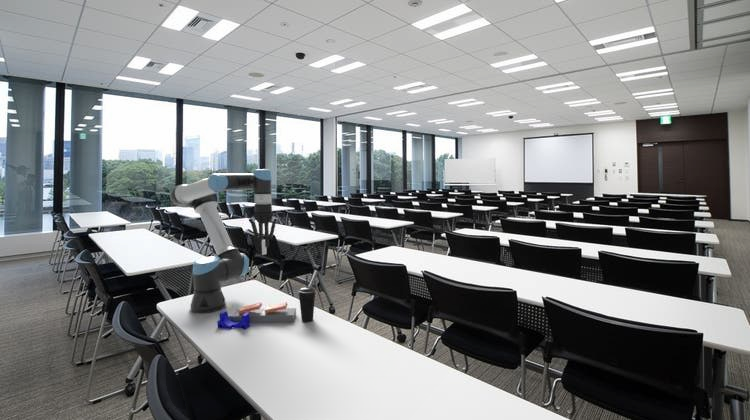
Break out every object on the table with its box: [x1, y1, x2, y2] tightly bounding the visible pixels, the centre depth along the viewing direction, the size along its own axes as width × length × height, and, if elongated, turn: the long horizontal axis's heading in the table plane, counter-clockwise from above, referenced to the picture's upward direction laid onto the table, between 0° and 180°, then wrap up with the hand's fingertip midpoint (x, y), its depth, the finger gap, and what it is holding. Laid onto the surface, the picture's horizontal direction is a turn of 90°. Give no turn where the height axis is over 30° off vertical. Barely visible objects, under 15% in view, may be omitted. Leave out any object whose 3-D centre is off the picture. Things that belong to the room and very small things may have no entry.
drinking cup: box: [297, 275, 317, 323], centre depth 156 cm, size 8×8×20 cm
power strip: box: [228, 307, 297, 324], centre depth 157 cm, size 31×8×3 cm, turn 94°
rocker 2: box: [264, 301, 288, 313], centre depth 157 cm, size 9×4×2 cm, turn 93°
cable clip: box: [217, 309, 251, 330], centre depth 149 cm, size 12×4×6 cm, turn 78°
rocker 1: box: [238, 302, 263, 314], centre depth 156 cm, size 9×4×2 cm, turn 92°
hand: (264, 254), depth 166 cm, fingers closed
